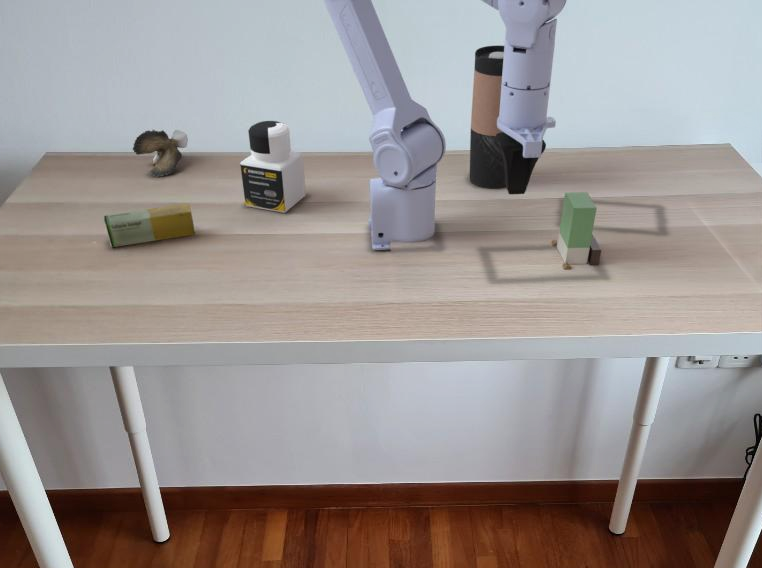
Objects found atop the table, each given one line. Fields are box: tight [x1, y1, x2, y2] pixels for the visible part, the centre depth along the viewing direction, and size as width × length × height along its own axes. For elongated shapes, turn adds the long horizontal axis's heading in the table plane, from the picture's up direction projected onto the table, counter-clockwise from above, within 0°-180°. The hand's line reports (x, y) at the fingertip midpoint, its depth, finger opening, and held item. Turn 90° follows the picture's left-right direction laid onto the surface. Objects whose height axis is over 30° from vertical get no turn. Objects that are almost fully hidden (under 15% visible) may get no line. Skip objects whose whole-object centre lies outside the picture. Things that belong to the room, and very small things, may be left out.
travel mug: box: [469, 45, 507, 189], centre depth 127 cm, size 8×8×20 cm
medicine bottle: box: [239, 120, 307, 214], centre depth 123 cm, size 7×7×12 cm
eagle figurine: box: [132, 129, 189, 178], centre depth 136 cm, size 8×7×9 cm
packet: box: [556, 191, 597, 265], centre depth 107 cm, size 8×5×3 cm
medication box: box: [103, 203, 197, 249], centre depth 115 cm, size 12×3×4 cm, turn 109°
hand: (515, 192), depth 104 cm, fingers closed
